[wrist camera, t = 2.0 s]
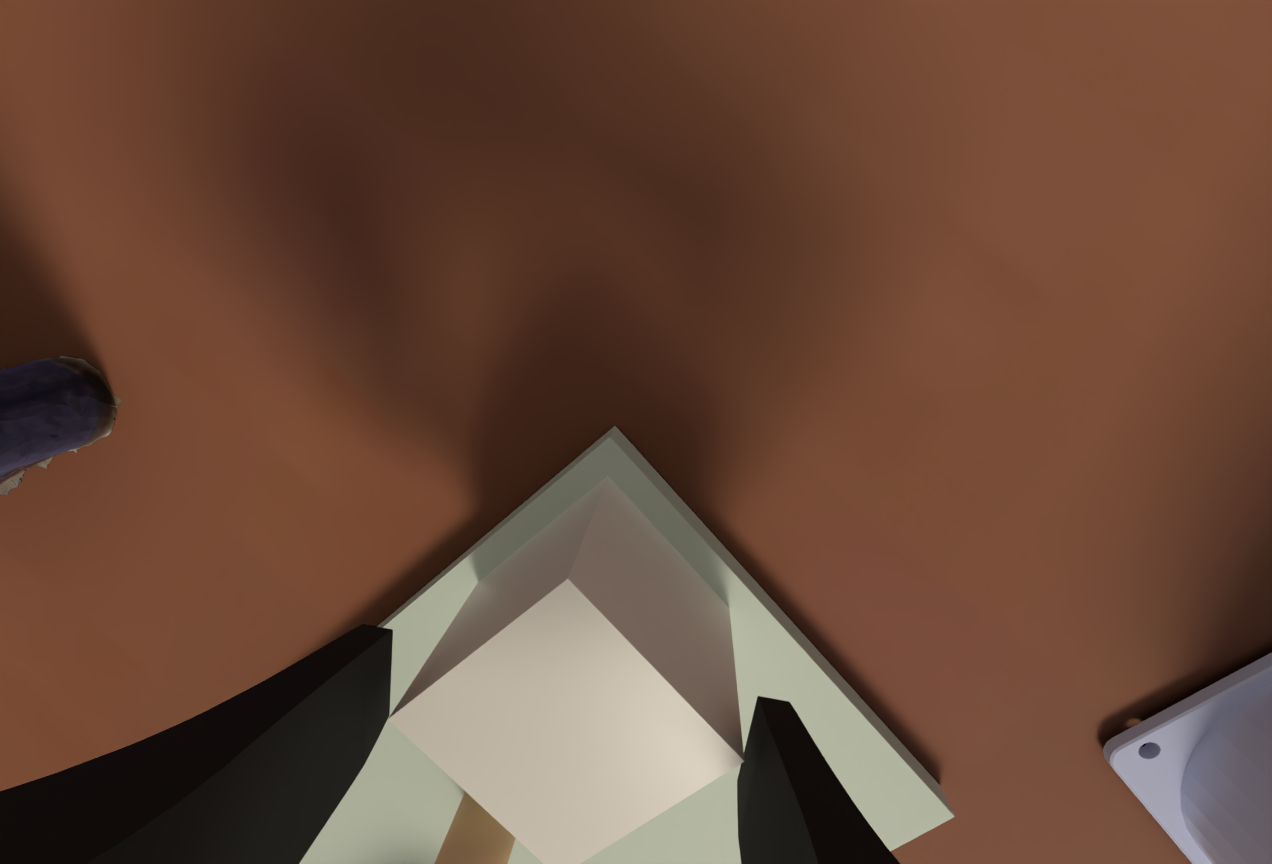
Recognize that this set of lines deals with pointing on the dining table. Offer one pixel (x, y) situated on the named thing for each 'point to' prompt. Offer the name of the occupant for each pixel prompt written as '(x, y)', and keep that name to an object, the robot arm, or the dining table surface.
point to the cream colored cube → (582, 683)
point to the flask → (50, 413)
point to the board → (696, 826)
